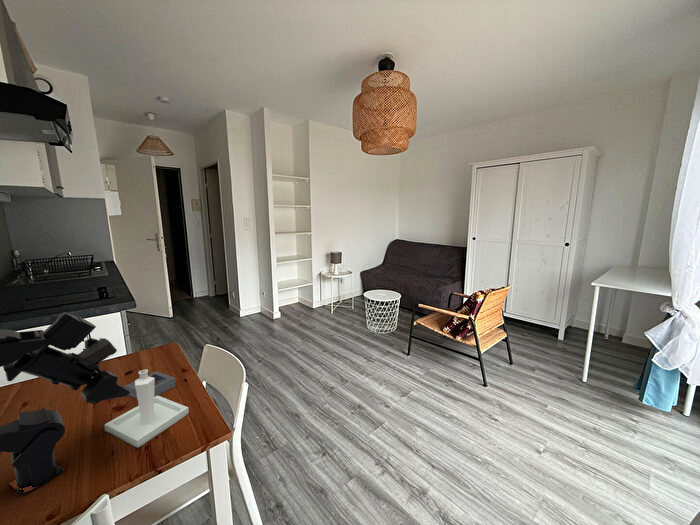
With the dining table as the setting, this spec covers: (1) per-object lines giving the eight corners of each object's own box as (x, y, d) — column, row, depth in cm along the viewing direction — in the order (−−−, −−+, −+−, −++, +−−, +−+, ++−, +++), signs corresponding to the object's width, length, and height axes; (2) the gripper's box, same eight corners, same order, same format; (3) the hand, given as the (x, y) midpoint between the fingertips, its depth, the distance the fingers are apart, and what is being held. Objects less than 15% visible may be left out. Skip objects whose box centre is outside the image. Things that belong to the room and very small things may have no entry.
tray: (188, 413, 82) (188, 407, 82) (137, 447, 70) (137, 440, 69) (157, 401, 88) (157, 395, 88) (105, 431, 75) (104, 424, 75)
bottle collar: (175, 385, 96) (175, 377, 96) (145, 402, 87) (144, 393, 87) (156, 378, 100) (156, 371, 100) (125, 394, 91) (124, 385, 90)
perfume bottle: (159, 413, 81) (155, 365, 79) (154, 423, 77) (150, 373, 75) (140, 417, 80) (136, 368, 78) (135, 427, 76) (130, 376, 74)
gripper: (101, 343, 61) (161, 368, 71) (75, 325, 71) (130, 350, 81) (54, 394, 55) (126, 413, 66) (32, 366, 65) (98, 387, 76)
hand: (121, 387), depth 72 cm, fingers open, 9 cm apart
